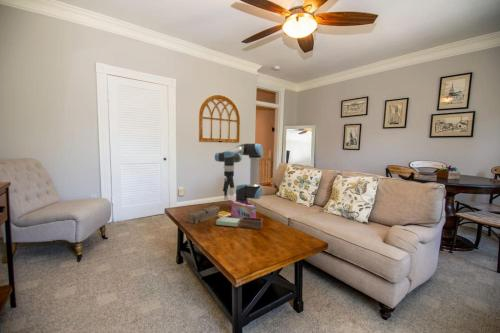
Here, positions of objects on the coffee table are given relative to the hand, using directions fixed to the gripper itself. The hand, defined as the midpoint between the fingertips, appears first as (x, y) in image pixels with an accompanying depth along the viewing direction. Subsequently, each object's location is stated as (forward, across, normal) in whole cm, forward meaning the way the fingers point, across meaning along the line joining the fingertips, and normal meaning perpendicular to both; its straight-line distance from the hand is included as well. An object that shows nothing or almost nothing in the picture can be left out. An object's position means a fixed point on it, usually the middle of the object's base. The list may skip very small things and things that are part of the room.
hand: (228, 197), depth 177 cm
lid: (+21, 0, 0) cm, 21 cm away
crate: (+22, 0, +19) cm, 29 cm away
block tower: (+22, -8, -24) cm, 33 cm away
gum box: (+22, -16, +8) cm, 29 cm away
